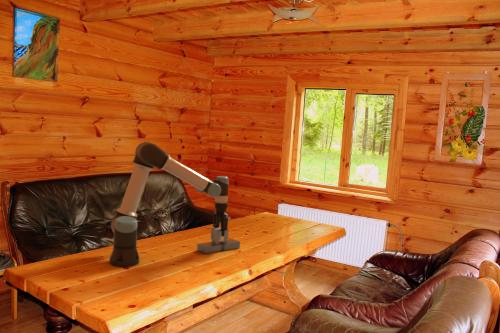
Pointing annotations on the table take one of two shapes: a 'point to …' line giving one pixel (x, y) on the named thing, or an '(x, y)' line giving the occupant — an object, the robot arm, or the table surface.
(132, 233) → the robot arm
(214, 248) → the block with rectangular hole
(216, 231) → the upright grey box
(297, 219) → the table surface
